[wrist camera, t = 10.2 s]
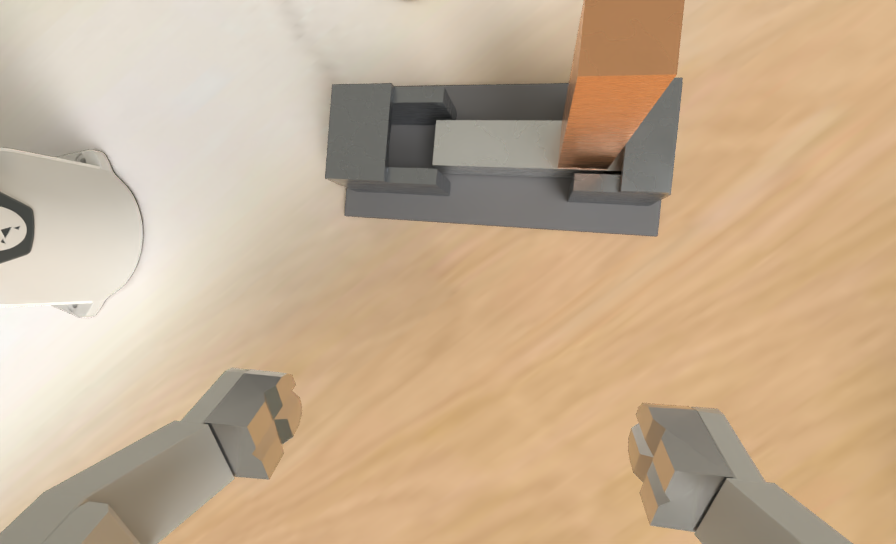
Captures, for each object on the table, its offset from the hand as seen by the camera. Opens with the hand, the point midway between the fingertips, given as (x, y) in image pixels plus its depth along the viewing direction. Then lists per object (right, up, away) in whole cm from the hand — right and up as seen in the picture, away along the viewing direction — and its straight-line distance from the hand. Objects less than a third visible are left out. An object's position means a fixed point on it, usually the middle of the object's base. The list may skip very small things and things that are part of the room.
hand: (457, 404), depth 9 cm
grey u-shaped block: (-4, +14, +26) cm, 30 cm away
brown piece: (+7, +13, +23) cm, 27 cm away
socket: (+13, +12, +22) cm, 28 cm away
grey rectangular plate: (+4, +13, +24) cm, 28 cm away
